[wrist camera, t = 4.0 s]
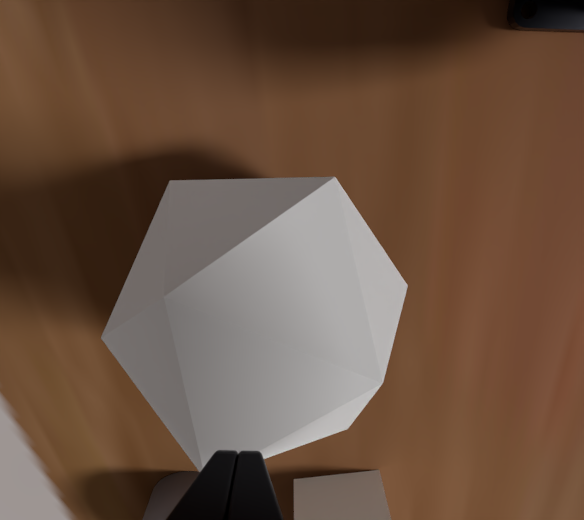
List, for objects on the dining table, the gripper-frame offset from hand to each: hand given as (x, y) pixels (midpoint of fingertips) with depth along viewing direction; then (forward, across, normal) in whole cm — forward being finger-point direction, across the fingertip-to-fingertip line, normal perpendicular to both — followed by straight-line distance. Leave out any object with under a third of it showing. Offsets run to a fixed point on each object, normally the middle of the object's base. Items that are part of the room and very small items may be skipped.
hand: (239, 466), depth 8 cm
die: (+10, 0, 0) cm, 10 cm away
